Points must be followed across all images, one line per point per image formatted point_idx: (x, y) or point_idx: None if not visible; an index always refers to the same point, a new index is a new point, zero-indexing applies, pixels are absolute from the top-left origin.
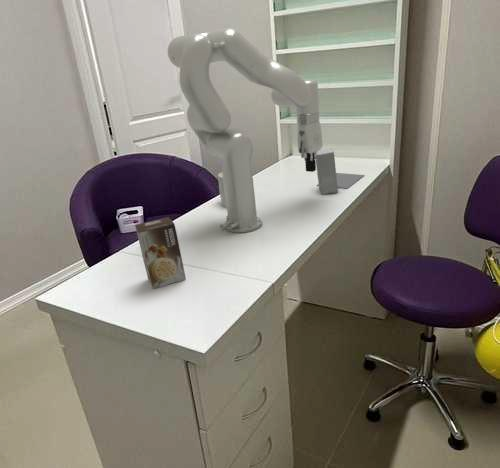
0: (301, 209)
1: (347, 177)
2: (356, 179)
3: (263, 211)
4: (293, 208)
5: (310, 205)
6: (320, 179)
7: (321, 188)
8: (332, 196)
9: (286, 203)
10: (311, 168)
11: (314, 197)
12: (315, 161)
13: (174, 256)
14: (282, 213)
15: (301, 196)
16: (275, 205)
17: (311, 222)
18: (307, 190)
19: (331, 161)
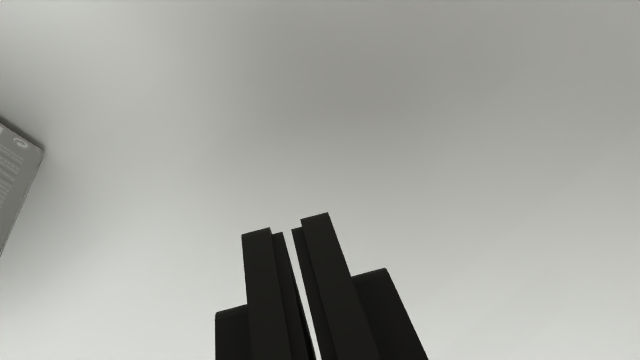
0: (485, 40)
1: None
2: None
3: (633, 260)
4: (493, 119)
5: (359, 39)
6: (1, 242)
7: (30, 179)
8: (5, 18)
9: (418, 247)
10: (356, 276)
11: (157, 157)
12: (256, 352)
13: None
14: (626, 114)
15: (210, 267)
16: (493, 281)
17: None
18: (50, 332)
19: None
